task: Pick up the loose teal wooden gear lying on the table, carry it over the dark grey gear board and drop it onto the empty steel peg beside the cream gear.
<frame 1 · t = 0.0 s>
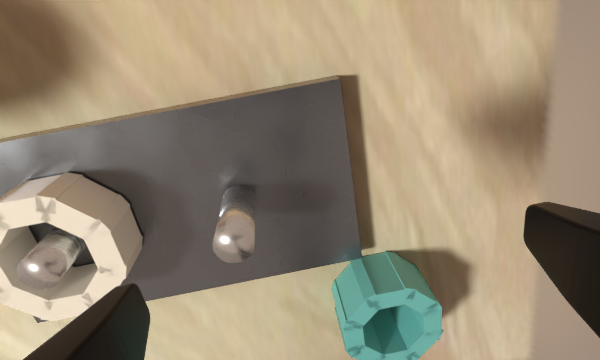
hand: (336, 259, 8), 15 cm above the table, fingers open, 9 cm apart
cream gear: (61, 247, 21), point 3 cm above the table, hinge at 0.0°
teal gear: (376, 289, 28), on the table
gear board: (178, 203, 23), on the table
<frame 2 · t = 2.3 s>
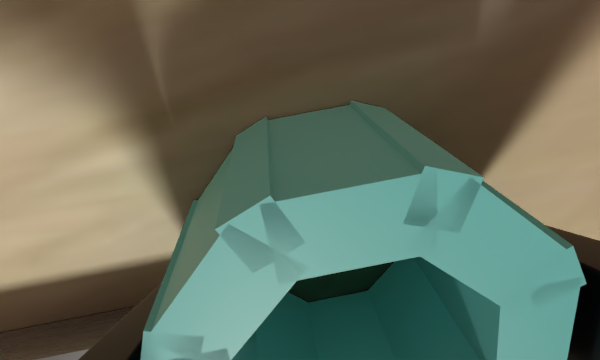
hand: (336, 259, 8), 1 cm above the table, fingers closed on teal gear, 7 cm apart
teal gear: (328, 235, 9), on the table, touching gripper
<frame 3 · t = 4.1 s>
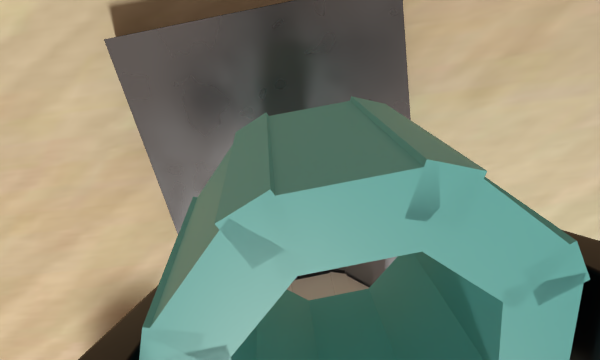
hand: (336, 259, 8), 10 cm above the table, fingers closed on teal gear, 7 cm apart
cream gear: (325, 348, 20), point 3 cm above the table, hinge at 0.0°
teal gear: (329, 232, 9), point 9 cm above the table, touching gripper
gear board: (300, 227, 20), on the table
when the fingers open (3 cm above the table, at t = 5.9 s): teal gear drops 1 cm, resting on gear board.
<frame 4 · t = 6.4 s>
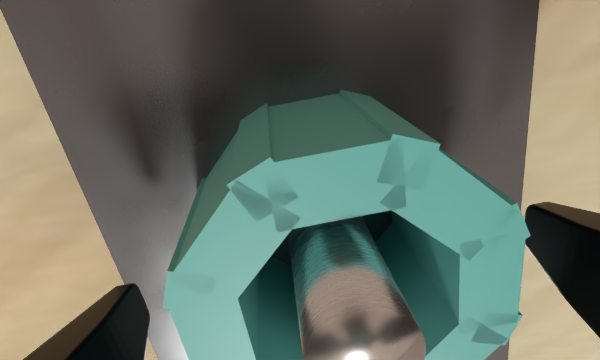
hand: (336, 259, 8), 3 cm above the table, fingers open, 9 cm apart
teal gear: (321, 211, 11), point 1 cm above the table, touching gear board
gear board: (331, 293, 13), on the table
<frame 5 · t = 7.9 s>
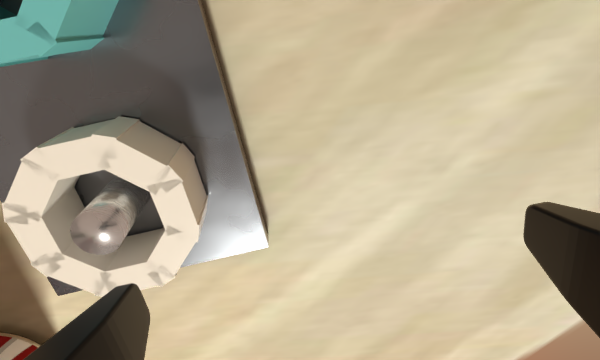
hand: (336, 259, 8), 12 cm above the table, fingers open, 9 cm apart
cream gear: (117, 207, 17), point 3 cm above the table, hinge at 0.0°
gear board: (87, 68, 17), on the table
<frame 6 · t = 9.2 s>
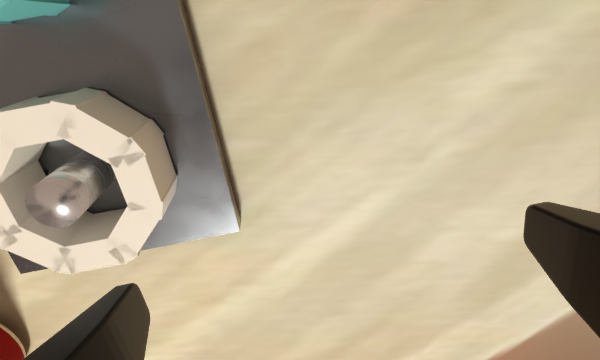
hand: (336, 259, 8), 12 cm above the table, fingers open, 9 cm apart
cream gear: (80, 181, 17), point 3 cm above the table, hinge at 0.0°
gear board: (55, 37, 17), on the table
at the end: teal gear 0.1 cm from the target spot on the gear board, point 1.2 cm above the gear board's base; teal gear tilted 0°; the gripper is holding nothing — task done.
